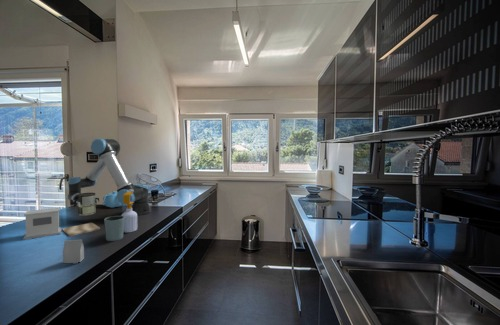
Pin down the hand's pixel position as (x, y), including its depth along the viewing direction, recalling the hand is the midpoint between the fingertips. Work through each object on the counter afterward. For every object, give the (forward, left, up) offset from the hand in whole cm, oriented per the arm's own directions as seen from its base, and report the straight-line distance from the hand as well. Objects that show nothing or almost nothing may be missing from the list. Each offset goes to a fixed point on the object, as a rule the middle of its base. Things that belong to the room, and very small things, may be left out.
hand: (88, 203), depth 160 cm
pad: (-3, +14, -14) cm, 20 cm away
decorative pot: (+5, -47, -14) cm, 49 cm away
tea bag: (-25, +58, -14) cm, 65 cm away
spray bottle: (-33, +17, -14) cm, 40 cm away
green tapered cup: (-30, +30, -14) cm, 45 cm away
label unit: (+14, +21, -14) cm, 29 cm away
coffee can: (+3, -3, -8) cm, 9 cm away
